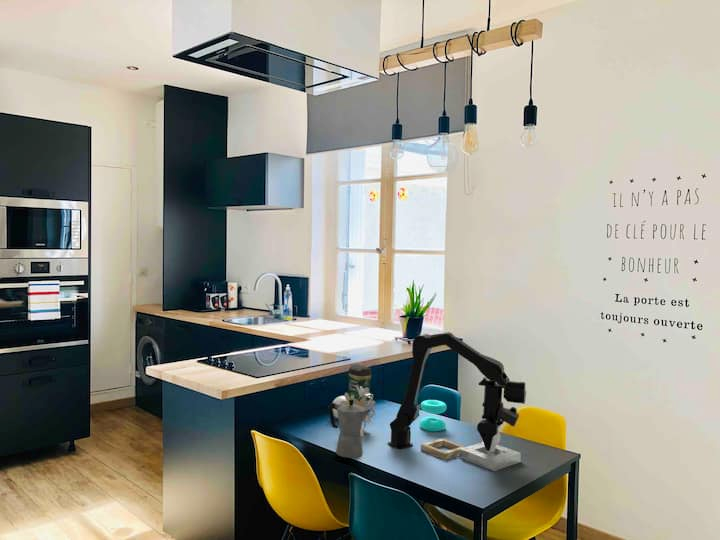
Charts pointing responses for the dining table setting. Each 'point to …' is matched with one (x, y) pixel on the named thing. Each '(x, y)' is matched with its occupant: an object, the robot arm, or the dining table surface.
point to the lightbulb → (493, 444)
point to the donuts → (433, 422)
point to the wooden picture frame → (432, 449)
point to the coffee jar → (359, 380)
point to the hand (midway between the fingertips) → (490, 446)
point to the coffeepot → (348, 428)
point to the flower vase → (345, 401)
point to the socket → (498, 461)
